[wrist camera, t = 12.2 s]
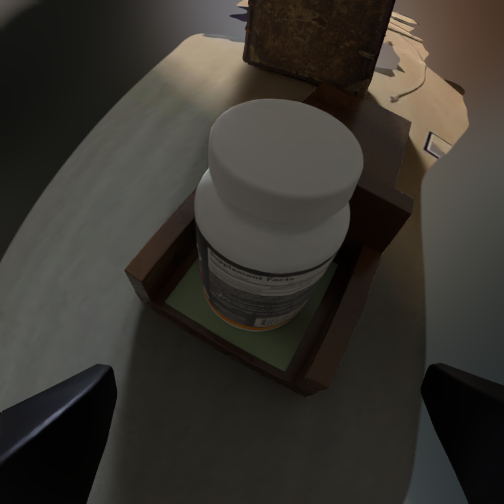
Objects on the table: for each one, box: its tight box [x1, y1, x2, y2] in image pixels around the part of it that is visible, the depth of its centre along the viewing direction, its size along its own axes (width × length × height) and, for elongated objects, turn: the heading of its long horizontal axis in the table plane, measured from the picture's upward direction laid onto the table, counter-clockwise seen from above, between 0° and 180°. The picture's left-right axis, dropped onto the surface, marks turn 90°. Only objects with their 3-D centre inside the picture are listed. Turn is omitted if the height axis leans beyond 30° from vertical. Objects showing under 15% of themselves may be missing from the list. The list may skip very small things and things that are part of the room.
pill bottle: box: [194, 99, 363, 332], centre depth 13 cm, size 6×6×10 cm
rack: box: [124, 82, 414, 398], centre depth 21 cm, size 30×11×8 cm, turn 151°
